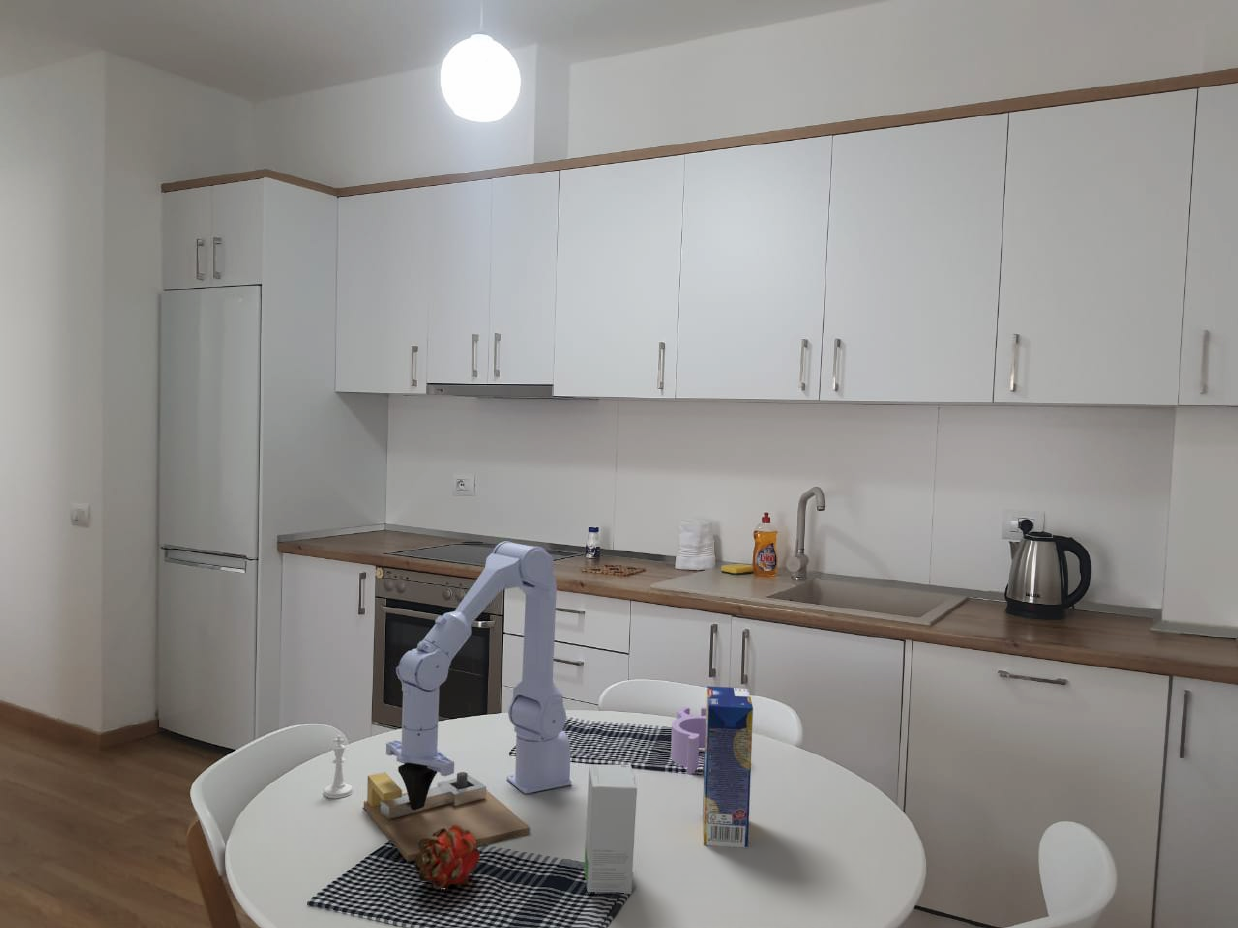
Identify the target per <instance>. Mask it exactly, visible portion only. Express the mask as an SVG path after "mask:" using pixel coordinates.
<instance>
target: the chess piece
mask: <svg viewBox="0 0 1238 928" xmlns="http://www.w3.org/2000/svg"><path fill="white" fill-rule="evenodd" d="M333 742H335V743H337V744H336V745H334V746H333V747H332V750H333V752H334V756H335V758H334V759H332V763H333V764H335V771H334V777H333V782H332V783H331V784H330V785H327V786H326V787H324V788H323V796H324V797H326V798H329V799H342V798H346V797H350V795H352V794H353V793H354V788H353V786H352V785H351V784H349V783H346V781H344V774H343V773H344V772H343V763H345V762H346V759H345V758H344V757H343V756H344V752H345V750H346V745H344V743H345V739H343V738H342V735H340V734H339V735H337V738H334V740H333ZM342 743H343V744H342Z"/></svg>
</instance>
